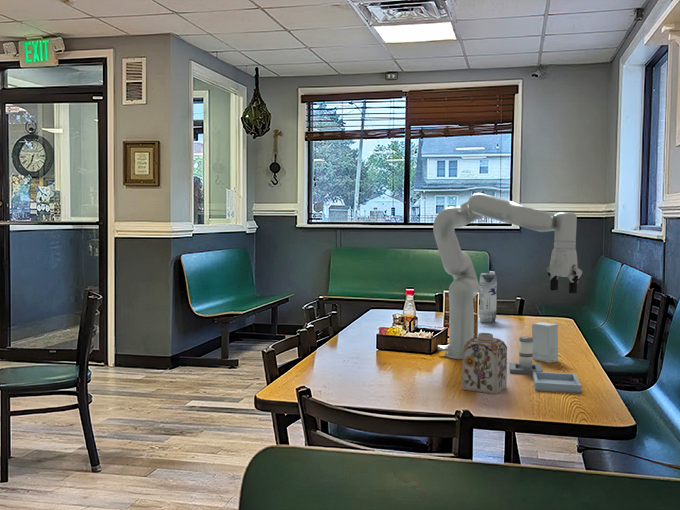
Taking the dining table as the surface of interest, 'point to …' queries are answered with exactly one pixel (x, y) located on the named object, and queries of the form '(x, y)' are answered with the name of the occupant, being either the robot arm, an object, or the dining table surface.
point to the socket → (515, 369)
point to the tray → (556, 382)
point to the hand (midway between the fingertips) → (563, 291)
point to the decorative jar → (484, 364)
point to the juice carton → (488, 297)
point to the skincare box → (545, 342)
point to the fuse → (525, 352)
